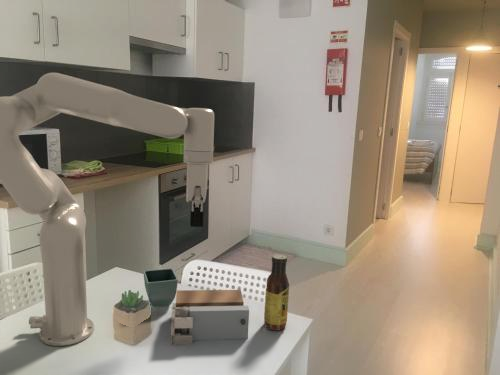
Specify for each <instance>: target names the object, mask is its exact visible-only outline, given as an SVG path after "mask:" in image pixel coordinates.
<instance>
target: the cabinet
mask: <svg viewBox="0 0 500 375" xmlns="http://www.w3.org/2000/svg"><path fill="white" fill-rule="evenodd" d="M175 303H176V307H194V306H245V305H244V303H245V302H244V298H243V293H242V290H241V289H205V290H204V289H203V290H201V289H198V290H197V289H196V290H195V289H194V290H193V289H192V290H191V289H190V290H189V289H188V290H183V289H182V290H177V291H176V295H175Z"/></svg>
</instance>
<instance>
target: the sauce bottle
mask: <svg viewBox="0 0 500 375" xmlns="http://www.w3.org/2000/svg"><path fill="white" fill-rule="evenodd" d="M287 262H288V257H287V256H286V255H284V254H281V253H280V254H278V253H277V254H276V253H275V254H273V255H272V256H271V270H270V271H271V272H270V274H269V275H268V276H267V278H266V288H265V298H264V299H265V300H264V301H265V302H264V313H263V314H264V315H263V316H264V318H263V321H264V322H263V323H264V324H263V325H264V326H265V327H266V328H267V329H268V330H271V331H278V332H279V331H281V330H283V329H285V328H286V326H287V322H288V310H289V309H288V308H289V298H290V297H289V294H290V284H289V280H288V276H287V273H286V272H287V270H286V269H287Z"/></svg>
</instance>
